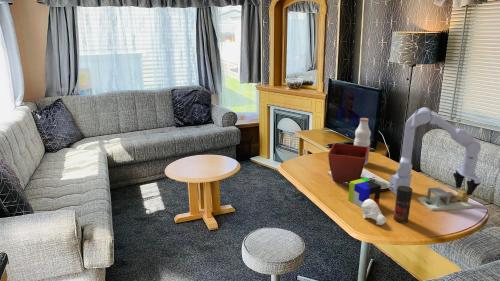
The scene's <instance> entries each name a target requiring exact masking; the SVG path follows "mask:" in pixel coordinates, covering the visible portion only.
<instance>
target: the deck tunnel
mask: <svg viewBox="0 0 500 281" xmlns="http://www.w3.org/2000/svg"><path fill="white" fill-rule="evenodd" d="M448 192H449V191H446V190H444V189H443V188H441V187H440V186H439V187H438V186H437V187H428V188H427V194H426V196H423V197H418V198H417V201H418V202H420V203H421V204H422V205H423V206H425V207H426V208H428V210H430V211H431V212H432V211H433V212H435V211H446V210H458V209H461V210H462V209H471V208H474V204H473V203H470V202H469V201H467V202H461V201H457V202H456V203H449V201H450V195H451V194H449V193H448ZM431 194H433V195H434V196H431ZM440 197H447V198H446V203H444V202H443V201H441V200H440Z"/></svg>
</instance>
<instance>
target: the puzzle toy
mask: <svg viewBox="0 0 500 281" xmlns="http://www.w3.org/2000/svg"><path fill="white" fill-rule="evenodd" d="M381 188H382V185H381V184H379V183H377V182H375V181H373V180H372V179H369V178H367V177H363V178H360V179H358V180H354V181H350V183H349V186H348V196H347V197H348V198H347V199H348V201H349V202H350V203H352V204H354V205H355V206H357V207H358V208H360V209H362V208H361V206H362V204H363V202H364V201H365V200H367V199H372V200H373V201H375V202H376V204H377V205H378V206H379V204H380V196H381V190H382V189H381Z"/></svg>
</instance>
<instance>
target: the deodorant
mask: <svg viewBox="0 0 500 281" xmlns="http://www.w3.org/2000/svg"><path fill="white" fill-rule="evenodd" d="M412 192H413V188H412V187H411V186H410V187H408V186H398V188H397V195H396V194H395V195H396V196H395V205H394V210H393V220H394V222H396V223H399V224H406V223H408V221H409V217H410V216H409V215H410V210H411V209H410V208H411V203H412V196H413V194H412Z"/></svg>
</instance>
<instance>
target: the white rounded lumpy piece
mask: <svg viewBox="0 0 500 281" xmlns="http://www.w3.org/2000/svg"><path fill="white" fill-rule="evenodd" d="M360 209H361V212H362V218H363V219H364V220H365V219H367V218H371V219H372V220H374V221H376V222H375V223H376V226H377V225H379V226H382V225H384V224H385V223H386V221H387V219H386V217H385V216H384V215H383V214H382V211H381V209H380V207H379V205H377V204H376V202H375V201H373V200H372V199H367V200H365V201H364V202H363V204H362V206H361V208H360Z"/></svg>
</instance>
